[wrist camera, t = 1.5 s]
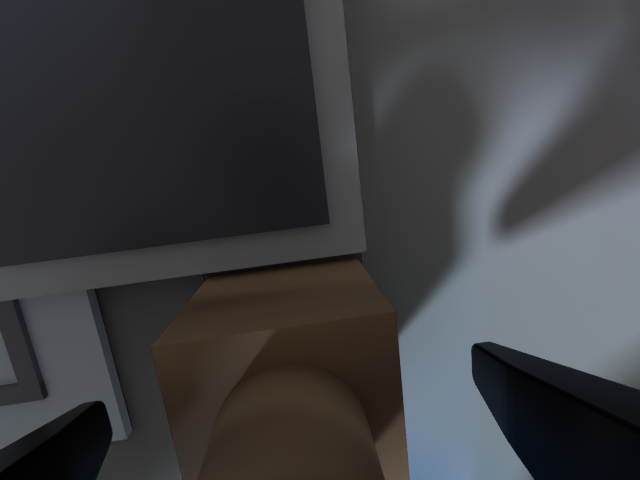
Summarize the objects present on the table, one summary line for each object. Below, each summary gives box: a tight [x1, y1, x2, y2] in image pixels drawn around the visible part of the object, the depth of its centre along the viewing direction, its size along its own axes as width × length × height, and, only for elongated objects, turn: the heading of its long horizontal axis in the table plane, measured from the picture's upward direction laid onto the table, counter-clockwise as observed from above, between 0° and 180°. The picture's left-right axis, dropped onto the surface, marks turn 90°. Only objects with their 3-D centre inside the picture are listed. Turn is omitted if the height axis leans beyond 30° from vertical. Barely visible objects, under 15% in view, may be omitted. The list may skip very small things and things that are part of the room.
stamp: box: [151, 252, 410, 480], centre depth 8 cm, size 5×5×8 cm
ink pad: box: [0, 0, 367, 301], centre depth 9 cm, size 11×11×2 cm
